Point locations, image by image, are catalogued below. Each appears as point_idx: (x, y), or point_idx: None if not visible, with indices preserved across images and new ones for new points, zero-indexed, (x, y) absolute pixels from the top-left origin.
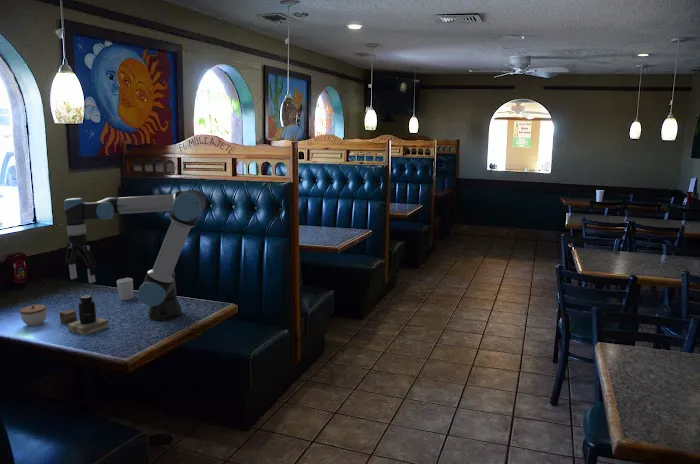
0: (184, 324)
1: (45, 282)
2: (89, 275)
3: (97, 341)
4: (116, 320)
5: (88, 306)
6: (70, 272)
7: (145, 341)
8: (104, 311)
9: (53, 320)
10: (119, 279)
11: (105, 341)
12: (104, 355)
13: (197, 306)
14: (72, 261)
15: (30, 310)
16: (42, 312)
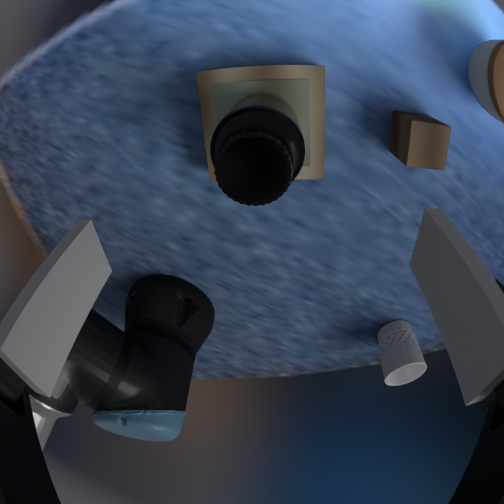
0: None
1: None
2: (35, 279)
3: (106, 79)
4: (253, 221)
5: (212, 138)
6: (469, 260)
7: (28, 178)
8: (374, 251)
9: (464, 121)
10: (424, 370)
11: (88, 99)
12: (14, 68)
13: None
14: (499, 430)
15: None
16: (485, 82)
